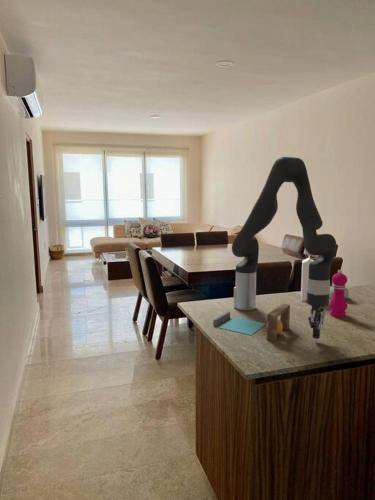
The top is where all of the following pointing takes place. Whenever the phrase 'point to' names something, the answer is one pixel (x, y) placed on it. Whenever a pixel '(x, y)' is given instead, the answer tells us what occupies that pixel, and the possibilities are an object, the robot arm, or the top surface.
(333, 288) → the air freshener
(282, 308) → the bridge
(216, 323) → the stopper
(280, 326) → the ball
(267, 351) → the top surface
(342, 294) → the pepper mill
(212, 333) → the top surface
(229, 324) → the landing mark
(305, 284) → the milk
